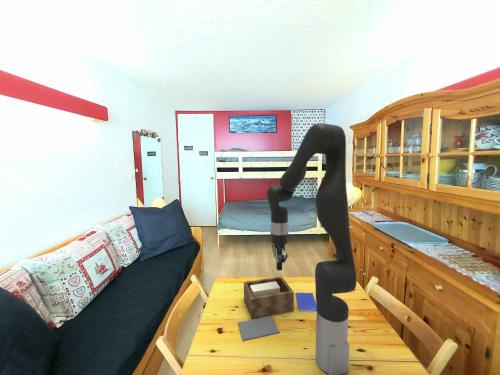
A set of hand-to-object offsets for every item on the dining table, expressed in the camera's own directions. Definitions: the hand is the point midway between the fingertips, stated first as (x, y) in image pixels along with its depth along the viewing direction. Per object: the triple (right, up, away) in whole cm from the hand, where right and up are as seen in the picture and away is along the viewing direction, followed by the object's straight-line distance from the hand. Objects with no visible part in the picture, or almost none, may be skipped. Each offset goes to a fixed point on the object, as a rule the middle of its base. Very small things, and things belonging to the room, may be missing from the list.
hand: (279, 269), depth 100 cm
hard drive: (+12, -16, +2) cm, 21 cm away
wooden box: (-5, -16, +1) cm, 17 cm away
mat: (-10, -18, -13) cm, 24 cm away
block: (-6, -12, 0) cm, 13 cm away
